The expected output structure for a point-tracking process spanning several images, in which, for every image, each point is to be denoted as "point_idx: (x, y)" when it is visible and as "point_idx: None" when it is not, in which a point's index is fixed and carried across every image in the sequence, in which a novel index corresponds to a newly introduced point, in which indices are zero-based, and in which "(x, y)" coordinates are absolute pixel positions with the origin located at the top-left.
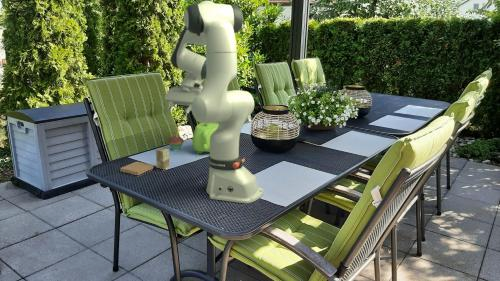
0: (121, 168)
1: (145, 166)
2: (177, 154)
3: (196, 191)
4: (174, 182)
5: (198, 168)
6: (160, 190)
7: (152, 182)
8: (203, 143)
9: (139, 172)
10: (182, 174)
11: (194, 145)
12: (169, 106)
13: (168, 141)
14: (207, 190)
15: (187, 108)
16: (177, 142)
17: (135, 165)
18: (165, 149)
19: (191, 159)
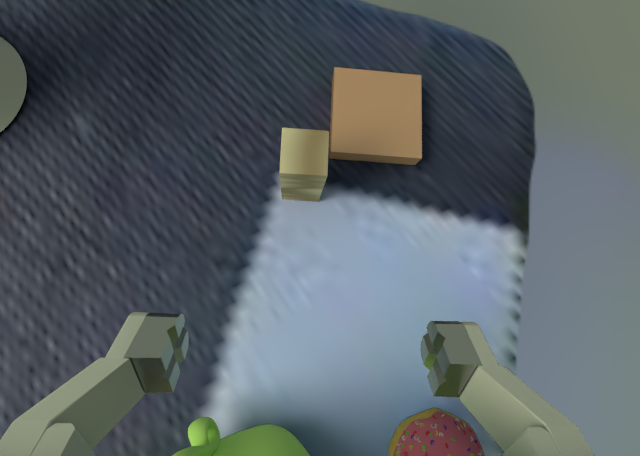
0: (415, 75)
1: (349, 126)
2: (360, 370)
3: (56, 45)
4: (175, 81)
5: (163, 246)
6: (180, 10)
7: (248, 53)
8: (210, 445)
9: (333, 78)
10: (190, 159)
11: (277, 429)
12: (487, 359)
13: (455, 418)
14: (2, 39)
15: (119, 357)
16: (402, 433)
17: (392, 120)
18: (290, 159)
19: (256, 337)
